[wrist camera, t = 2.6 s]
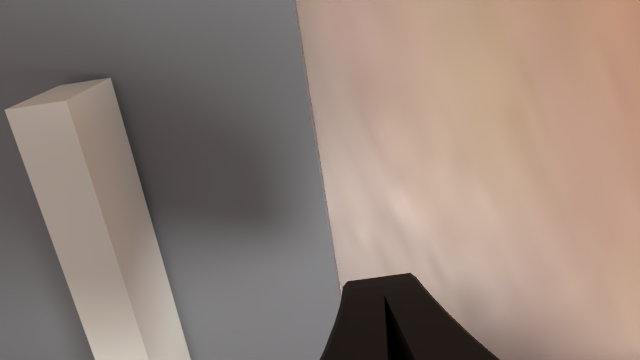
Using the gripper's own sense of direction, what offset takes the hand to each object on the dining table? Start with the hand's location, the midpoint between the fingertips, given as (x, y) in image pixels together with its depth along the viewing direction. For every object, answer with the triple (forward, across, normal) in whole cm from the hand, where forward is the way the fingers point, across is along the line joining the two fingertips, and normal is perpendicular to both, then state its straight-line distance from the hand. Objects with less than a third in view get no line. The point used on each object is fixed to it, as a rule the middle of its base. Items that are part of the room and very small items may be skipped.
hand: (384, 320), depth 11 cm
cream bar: (+4, +6, +3) cm, 7 cm away
